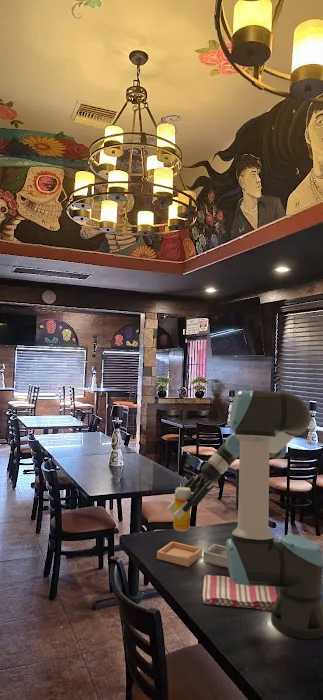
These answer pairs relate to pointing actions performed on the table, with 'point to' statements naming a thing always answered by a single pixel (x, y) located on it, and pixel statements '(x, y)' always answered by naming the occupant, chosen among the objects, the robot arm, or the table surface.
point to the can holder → (216, 555)
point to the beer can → (180, 498)
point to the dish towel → (237, 593)
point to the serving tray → (179, 553)
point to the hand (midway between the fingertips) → (173, 513)
